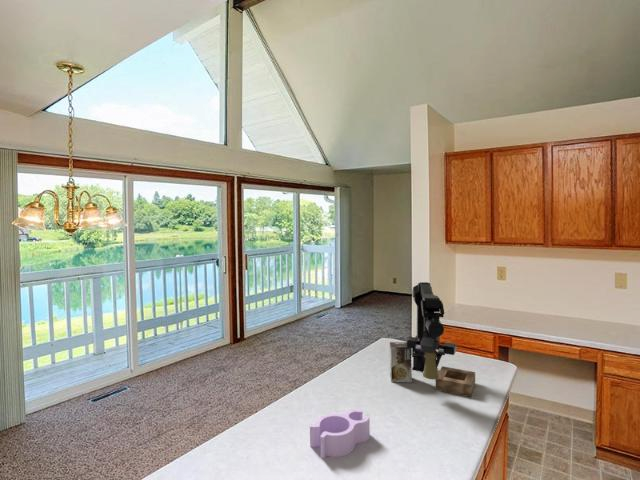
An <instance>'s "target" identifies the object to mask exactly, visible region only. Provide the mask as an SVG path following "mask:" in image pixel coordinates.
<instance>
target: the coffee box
mask: <svg viewBox="0 0 640 480" xmlns="http://www.w3.org/2000/svg"><path fill="white" fill-rule="evenodd" d="M406 343H407V341H405V342H404V341H401V342H398V341H396V342H395V341H394V342H393V341H390V342H389V377H390V382H391V383H412V374H413V373H412V371H413V369H412V355H411V348H409V347H406Z"/></svg>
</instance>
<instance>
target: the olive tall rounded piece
mask: <svg viewBox="0 0 640 480" xmlns="http://www.w3.org/2000/svg"><path fill="white" fill-rule="evenodd" d="M437 352H438V350H434V352H433V353H429V352H424V355H425V357H426V359H425V365H424V371H422V372H423V374H422V376H423V377H424V378H426V379H429V380H436V379H437V378H438V377H439V376H438V373H439V370H438V367H436V360H437Z"/></svg>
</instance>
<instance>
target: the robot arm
mask: <svg viewBox="0 0 640 480" xmlns="http://www.w3.org/2000/svg"><path fill="white" fill-rule="evenodd" d="M411 291H412V292H411V295H412V297H411V298H413V302H414V303H415V305H416V335H415V337H414V336H411V337H409V338H408V339H407V340H406V342H407V343H406V347H409V348H411V358H412V361H413V362H412V365H413V366H412V367H411V370H413V371H419V372H420V371H421V372H424V365H425V359H426V357H425V355H424V352H429V353H433V352H434V350H436V351H437V358H436V367H437V368H438V367H439V364H440V362H441V358H442V357H443V356H445V355H450V356H454V355H455V354H456V352H457V344H456V343H454V342H453V343H452V342H445V344H441V343H440V339H439V338H440V336H442V335H443V334H444V331H445V327H444V325H443V323H442V322H441V321H440V320H441V319H440V318H444V315H445V309H444V304H443V301H442V299H440V297H439V296H438V295H435V294H434V292H433V288H432V286H431V283H430V282H427V281H425V282H423V281H422V282H418V283H417V285H415V286H413V287H412V290H411Z"/></svg>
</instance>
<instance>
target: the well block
mask: <svg viewBox="0 0 640 480" xmlns="http://www.w3.org/2000/svg"><path fill="white" fill-rule="evenodd" d="M438 376H439V377H438V378H437V379H435V386H434V387H435V389H434V390H435V391H441V392H445V393H449V394H454V395H459V396H462V397H469V398H472V395H473V392H474V389H475V386H476V372H475V371H472V370H466V369H460V368H453V367H448V366H444V365H443V366H442V365H441V368H439V370H438Z"/></svg>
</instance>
